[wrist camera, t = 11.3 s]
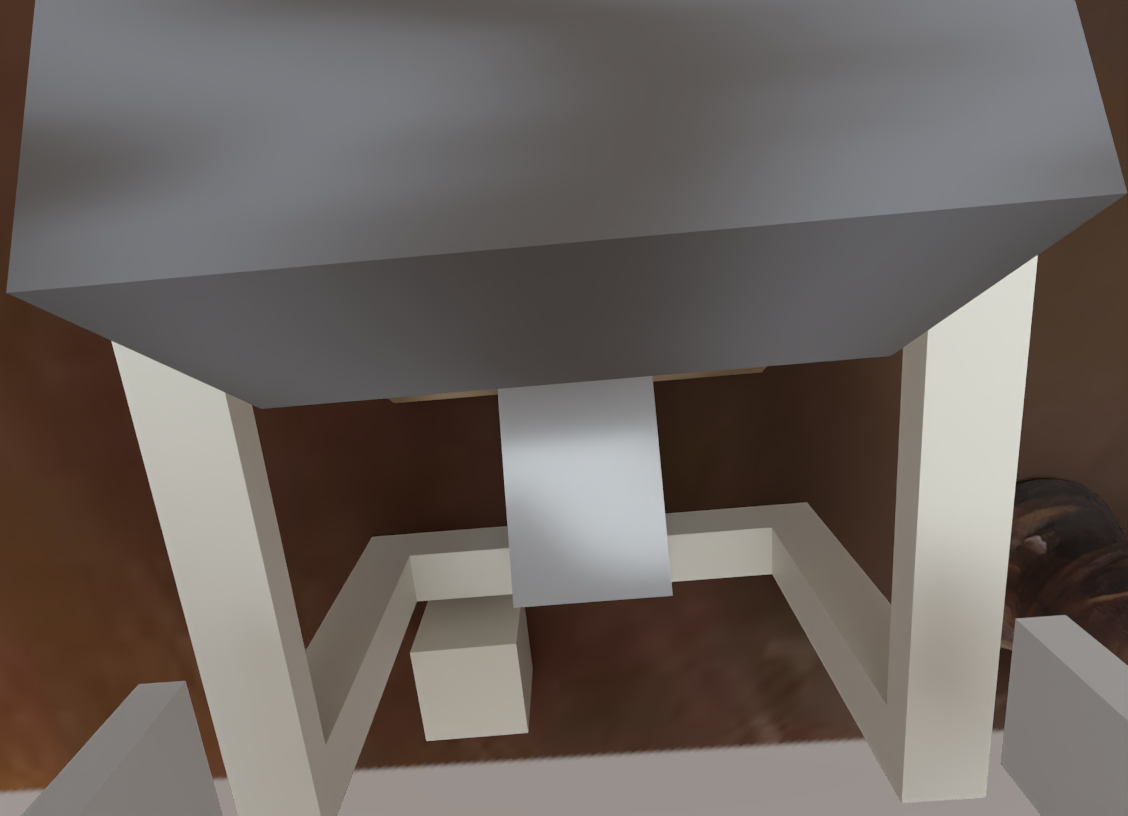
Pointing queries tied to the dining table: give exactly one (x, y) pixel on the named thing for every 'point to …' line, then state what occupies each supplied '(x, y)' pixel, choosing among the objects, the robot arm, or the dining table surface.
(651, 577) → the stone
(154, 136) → the trapdoor
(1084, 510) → the mortar and pestle
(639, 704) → the dining table surface
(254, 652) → the frame
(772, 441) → the dining table surface
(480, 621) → the pumice block
